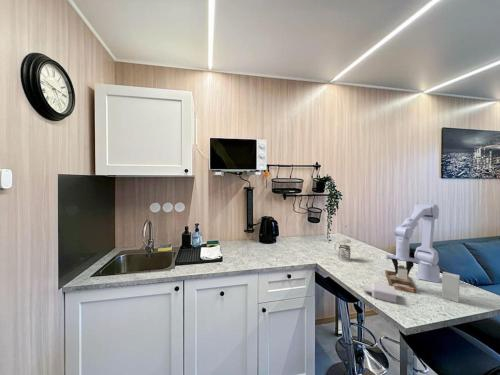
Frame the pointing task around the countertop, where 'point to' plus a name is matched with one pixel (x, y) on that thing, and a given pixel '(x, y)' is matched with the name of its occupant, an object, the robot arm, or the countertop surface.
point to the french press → (342, 256)
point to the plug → (402, 272)
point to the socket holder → (400, 282)
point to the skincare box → (450, 286)
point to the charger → (381, 291)
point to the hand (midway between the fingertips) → (401, 274)
